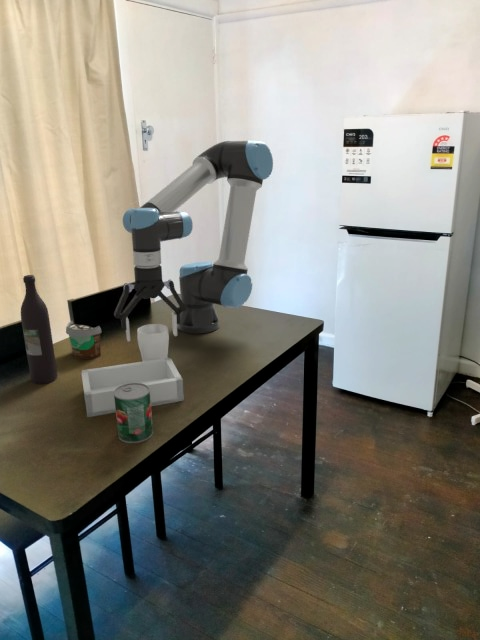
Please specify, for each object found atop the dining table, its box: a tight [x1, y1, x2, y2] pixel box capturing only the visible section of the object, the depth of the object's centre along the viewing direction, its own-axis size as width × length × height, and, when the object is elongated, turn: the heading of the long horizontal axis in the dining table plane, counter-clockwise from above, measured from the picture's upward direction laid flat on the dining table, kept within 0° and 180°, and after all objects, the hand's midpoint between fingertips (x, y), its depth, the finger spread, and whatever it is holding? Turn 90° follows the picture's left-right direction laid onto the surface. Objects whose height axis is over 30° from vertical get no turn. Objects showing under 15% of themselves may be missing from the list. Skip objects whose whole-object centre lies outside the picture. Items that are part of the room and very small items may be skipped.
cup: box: [137, 323, 170, 362], centre depth 149 cm, size 9×9×12 cm
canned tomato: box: [114, 383, 154, 444], centre depth 115 cm, size 8×8×11 cm
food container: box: [65, 320, 102, 360], centre depth 158 cm, size 12×6×10 cm, turn 62°
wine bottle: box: [20, 274, 58, 385], centre depth 139 cm, size 7×7×30 cm
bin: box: [80, 357, 185, 418], centre depth 133 cm, size 24×15×6 cm, turn 109°
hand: (152, 337), depth 148 cm, fingers open, 13 cm apart
